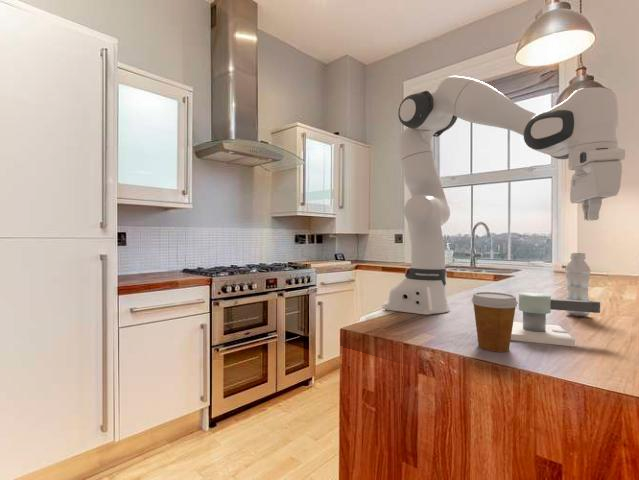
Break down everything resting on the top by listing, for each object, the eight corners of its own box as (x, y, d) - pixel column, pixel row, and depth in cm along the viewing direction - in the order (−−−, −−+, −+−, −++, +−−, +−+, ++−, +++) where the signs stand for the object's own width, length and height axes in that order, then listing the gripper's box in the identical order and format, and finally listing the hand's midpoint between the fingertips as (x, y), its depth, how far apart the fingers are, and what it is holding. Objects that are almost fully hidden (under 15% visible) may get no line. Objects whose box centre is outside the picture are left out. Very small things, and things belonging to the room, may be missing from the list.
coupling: (520, 312, 88) (521, 296, 88) (516, 307, 94) (516, 292, 94) (605, 318, 81) (605, 301, 81) (594, 312, 88) (594, 296, 88)
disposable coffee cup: (477, 338, 87) (477, 290, 86) (521, 346, 81) (521, 294, 80) (465, 348, 79) (465, 295, 79) (512, 357, 73) (513, 300, 73)
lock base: (506, 339, 86) (506, 315, 86) (500, 325, 99) (500, 304, 99) (575, 346, 81) (575, 320, 81) (559, 331, 94) (559, 308, 94)
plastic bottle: (595, 318, 107) (596, 253, 107) (570, 317, 109) (571, 253, 108) (583, 314, 114) (584, 252, 113) (560, 313, 115) (561, 252, 115)
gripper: (563, 168, 91) (562, 221, 91) (590, 151, 72) (589, 218, 72) (592, 166, 88) (592, 221, 89) (629, 148, 69) (628, 218, 70)
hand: (591, 220), depth 80 cm, fingers closed
